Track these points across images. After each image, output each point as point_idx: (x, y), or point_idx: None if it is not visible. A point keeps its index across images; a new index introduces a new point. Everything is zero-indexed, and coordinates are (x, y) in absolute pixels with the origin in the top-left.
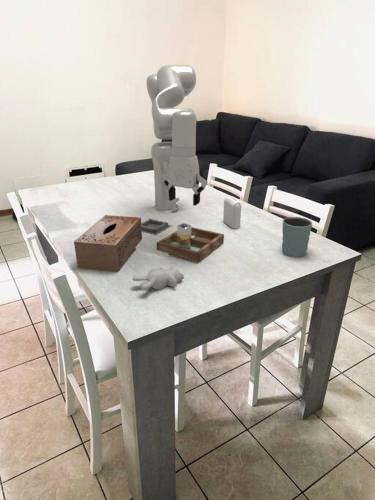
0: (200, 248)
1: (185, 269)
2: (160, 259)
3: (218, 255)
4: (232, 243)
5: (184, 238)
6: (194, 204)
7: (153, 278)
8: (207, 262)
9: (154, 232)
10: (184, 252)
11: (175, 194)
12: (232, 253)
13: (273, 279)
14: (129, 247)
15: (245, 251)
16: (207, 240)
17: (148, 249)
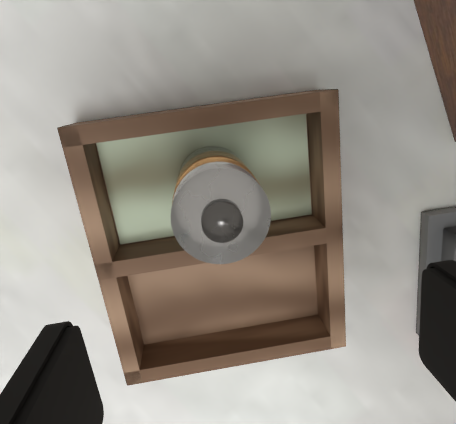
0: (159, 238)
1: (75, 27)
2: (250, 34)
3: (65, 249)
4: (104, 374)
5: (187, 168)
6: (46, 330)
7: None
8: (50, 160)
9: (449, 229)
10: (150, 114)
11: (452, 394)
12: (33, 302)
13: None
14: None
15: (6, 350)
16: (195, 323)
17: (372, 85)
